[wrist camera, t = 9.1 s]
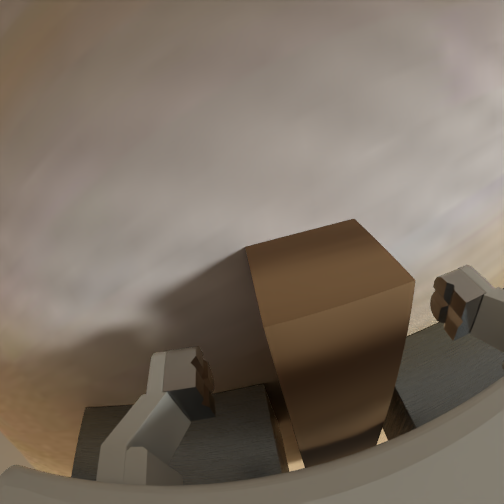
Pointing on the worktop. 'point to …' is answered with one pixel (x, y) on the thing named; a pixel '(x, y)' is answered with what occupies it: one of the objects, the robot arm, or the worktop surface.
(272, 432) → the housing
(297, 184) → the worktop surface
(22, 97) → the worktop surface
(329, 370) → the rod
